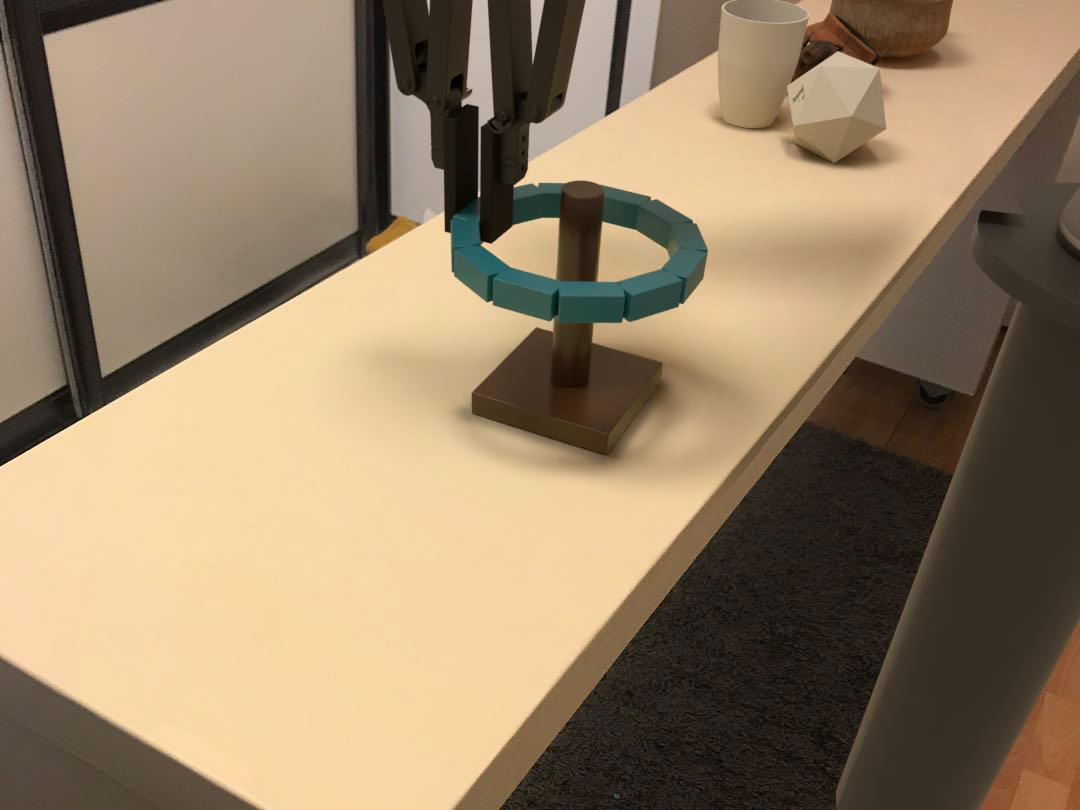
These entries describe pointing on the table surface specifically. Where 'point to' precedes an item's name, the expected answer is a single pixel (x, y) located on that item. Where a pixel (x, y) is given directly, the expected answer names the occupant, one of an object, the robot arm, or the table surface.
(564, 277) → the post
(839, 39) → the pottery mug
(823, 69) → the die
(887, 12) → the bowl
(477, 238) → the ring
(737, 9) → the cup
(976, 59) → the table surface
